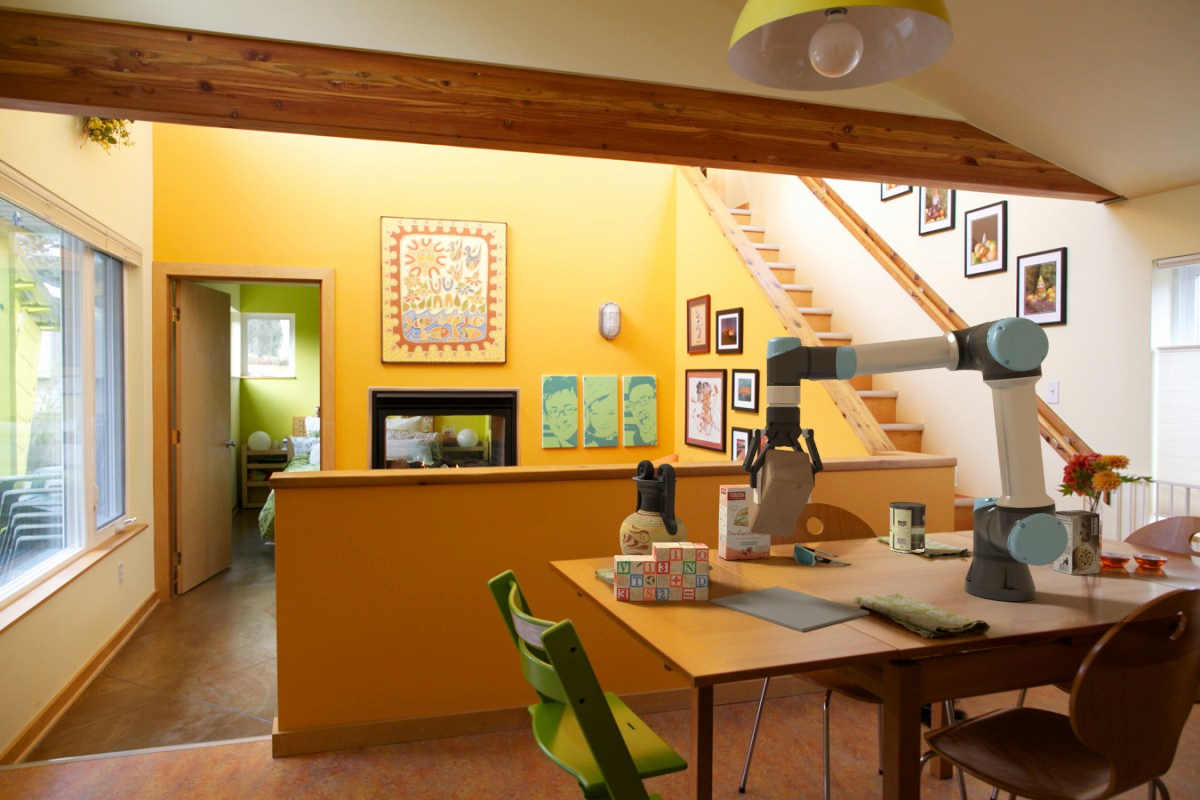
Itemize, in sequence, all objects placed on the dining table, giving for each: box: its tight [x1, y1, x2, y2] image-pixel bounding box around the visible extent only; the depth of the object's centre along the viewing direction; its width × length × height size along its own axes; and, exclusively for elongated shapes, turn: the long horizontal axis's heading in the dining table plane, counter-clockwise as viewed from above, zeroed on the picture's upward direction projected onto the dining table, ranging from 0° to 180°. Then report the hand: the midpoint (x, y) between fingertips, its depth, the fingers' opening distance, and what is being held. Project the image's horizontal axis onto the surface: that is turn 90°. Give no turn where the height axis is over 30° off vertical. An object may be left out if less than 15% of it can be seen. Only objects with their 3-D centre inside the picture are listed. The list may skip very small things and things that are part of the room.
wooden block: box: [747, 448, 815, 538], centre depth 179 cm, size 10×10×20 cm
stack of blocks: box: [613, 541, 710, 602], centre depth 182 cm, size 21×6×12 cm, turn 94°
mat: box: [710, 585, 870, 633], centre depth 173 cm, size 26×22×1 cm
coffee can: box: [888, 501, 927, 554], centre depth 237 cm, size 10×10×14 cm
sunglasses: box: [792, 542, 852, 567], centre depth 222 cm, size 14×15×5 cm
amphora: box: [619, 459, 688, 556], centre depth 197 cm, size 18×17×30 cm
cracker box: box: [717, 484, 772, 561], centre depth 225 cm, size 14×6×21 cm, turn 105°
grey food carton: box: [1053, 509, 1101, 576], centre depth 211 cm, size 9×6×16 cm
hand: (782, 502), depth 177 cm, fingers closed on wooden block, 11 cm apart
